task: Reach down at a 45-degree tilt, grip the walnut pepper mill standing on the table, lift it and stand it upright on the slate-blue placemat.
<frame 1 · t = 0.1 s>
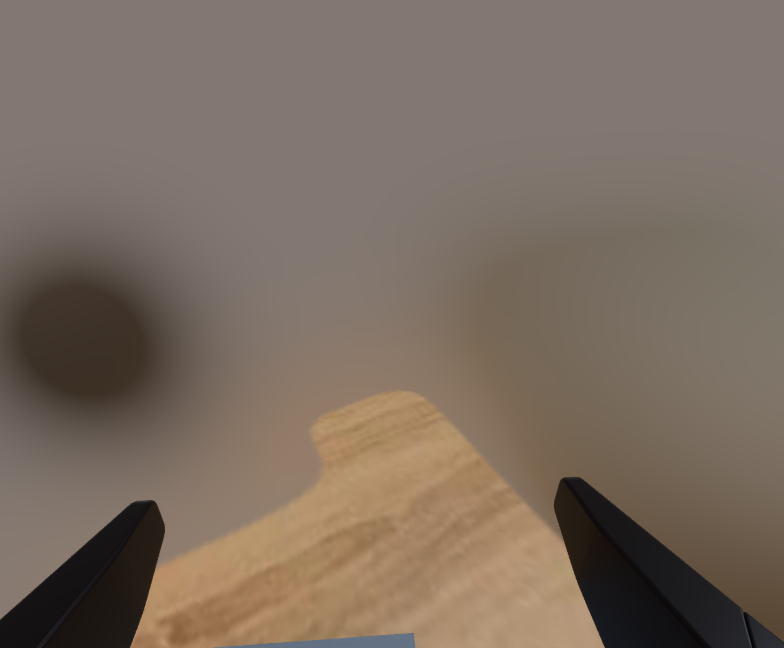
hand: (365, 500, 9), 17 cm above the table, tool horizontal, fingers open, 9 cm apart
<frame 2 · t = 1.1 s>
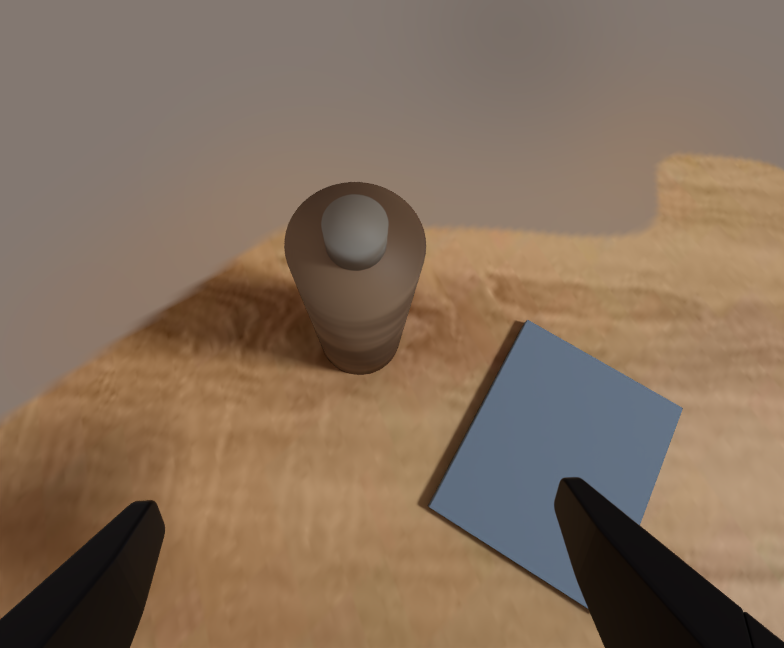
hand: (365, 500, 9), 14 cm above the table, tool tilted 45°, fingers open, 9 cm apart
placemat: (558, 455, 23), on the table
pepper mill: (360, 335, 25), on the table
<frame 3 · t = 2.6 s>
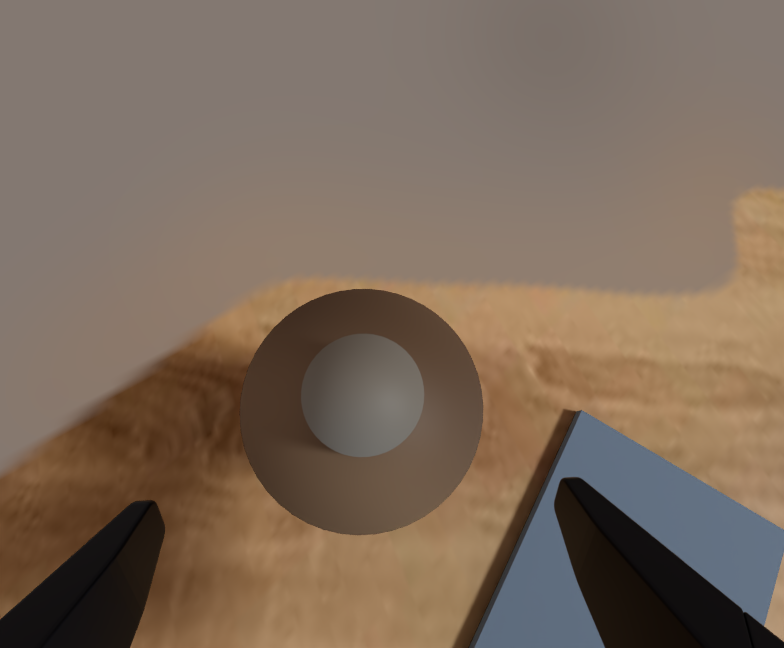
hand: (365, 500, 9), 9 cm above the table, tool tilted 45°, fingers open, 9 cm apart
placemat: (627, 598, 18), on the table
pepper mill: (365, 431, 19), on the table
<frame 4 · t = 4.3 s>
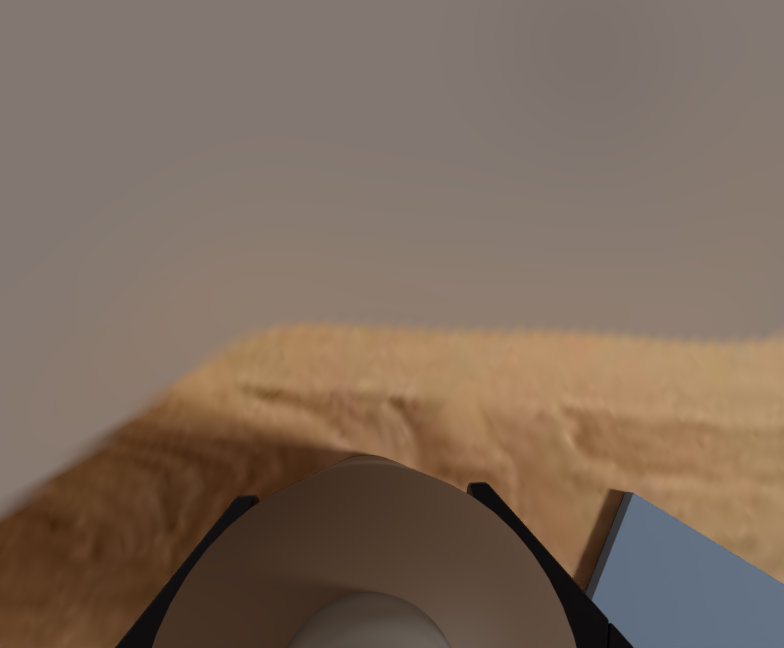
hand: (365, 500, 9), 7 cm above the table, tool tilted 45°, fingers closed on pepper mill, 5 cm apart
pepper mill: (366, 521, 15), on the table, touching gripper
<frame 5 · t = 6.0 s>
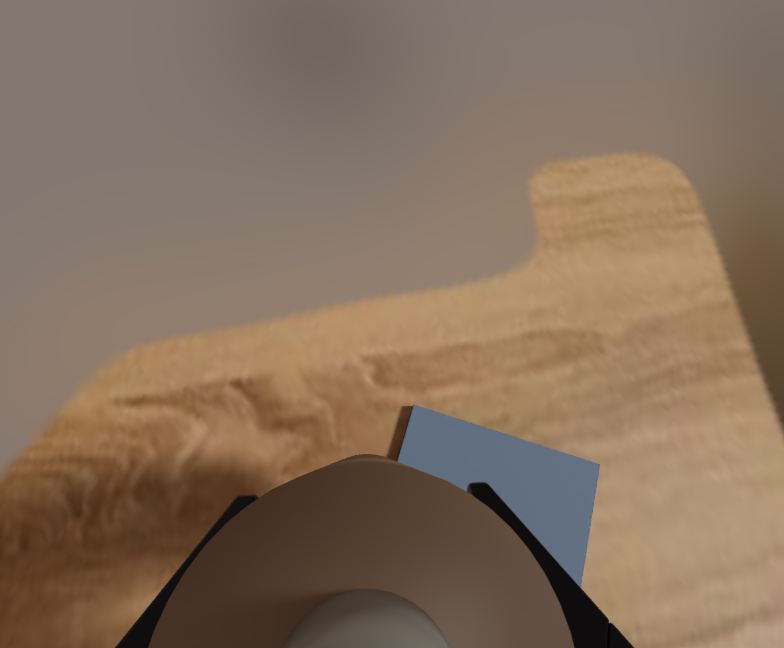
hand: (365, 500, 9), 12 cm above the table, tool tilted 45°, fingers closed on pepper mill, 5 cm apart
placemat: (476, 555, 20), on the table
pepper mill: (366, 520, 15), point 6 cm above the table, touching gripper
when the fingers open (8 cm above the table, at t = 7.9 s): pepper mill drops 1 cm, resting on placemat.
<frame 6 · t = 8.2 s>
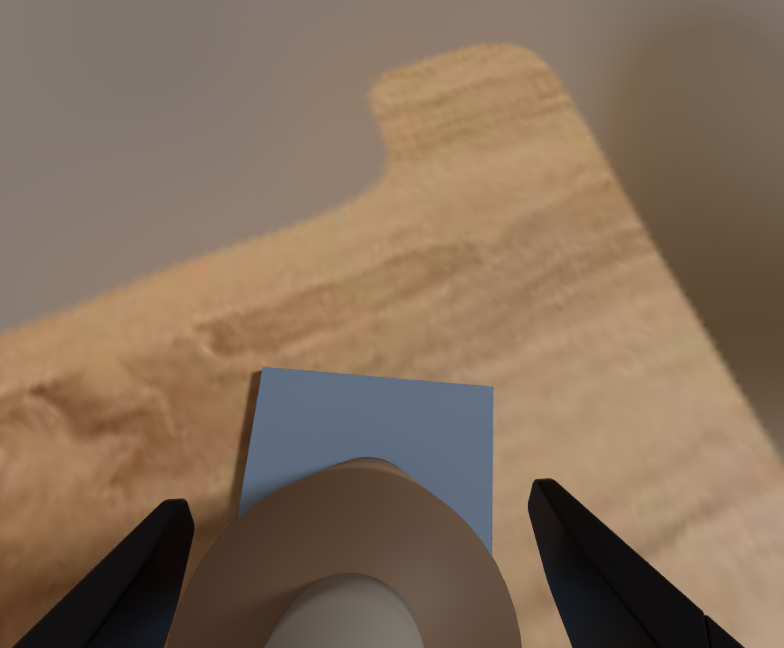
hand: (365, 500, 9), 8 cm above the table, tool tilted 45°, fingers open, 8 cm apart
placemat: (365, 526, 17), on the table
pepper mill: (365, 518, 16), point 1 cm above the table, touching placemat
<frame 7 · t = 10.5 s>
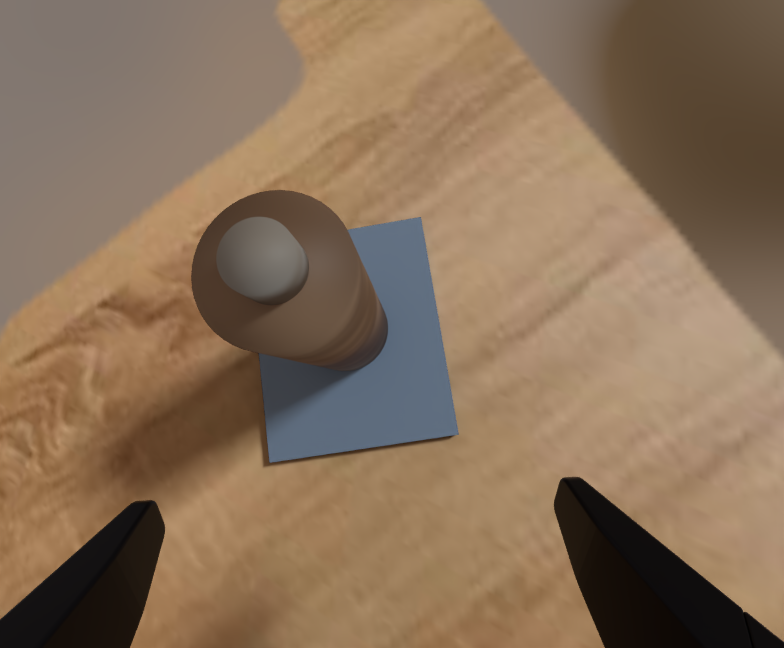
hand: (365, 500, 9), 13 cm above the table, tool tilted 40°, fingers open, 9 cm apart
placemat: (349, 336, 23), on the table
pepper mill: (346, 328, 23), point 1 cm above the table, touching placemat
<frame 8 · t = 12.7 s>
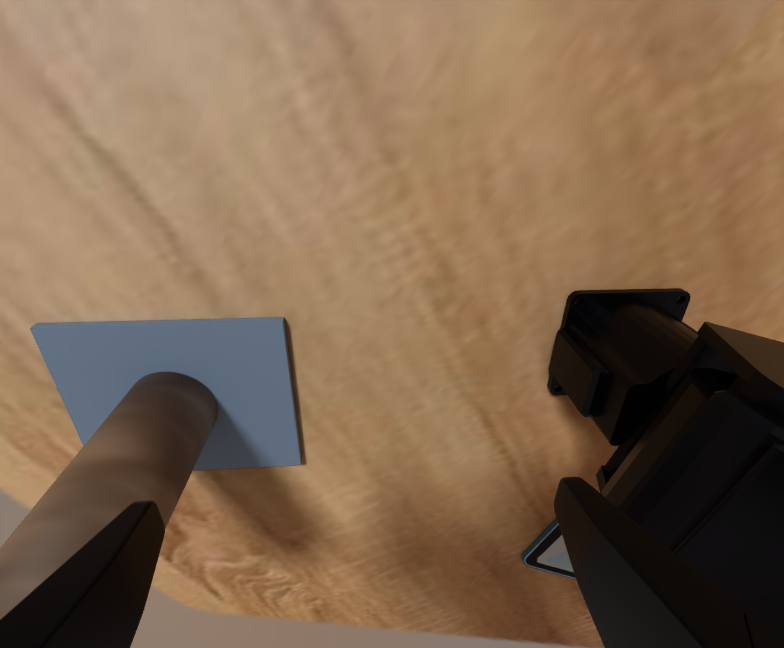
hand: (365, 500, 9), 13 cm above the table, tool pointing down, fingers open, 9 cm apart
placemat: (185, 399, 23), on the table
pepper mill: (174, 406, 23), point 1 cm above the table, touching placemat
smartphone: (614, 546, 34), on the table
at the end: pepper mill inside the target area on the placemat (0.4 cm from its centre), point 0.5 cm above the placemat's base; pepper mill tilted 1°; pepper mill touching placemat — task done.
